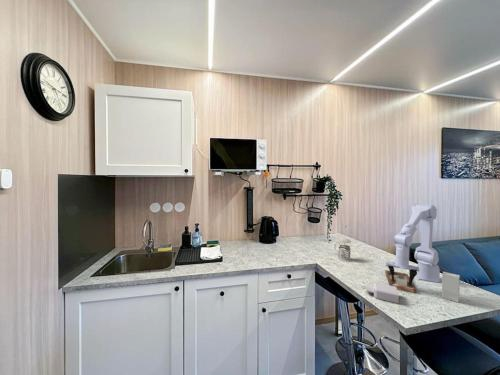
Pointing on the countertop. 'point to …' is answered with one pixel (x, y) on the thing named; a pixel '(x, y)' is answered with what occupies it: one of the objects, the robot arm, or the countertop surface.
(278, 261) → the countertop surface
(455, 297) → the skincare box
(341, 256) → the french press
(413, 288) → the socket holder
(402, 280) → the plug
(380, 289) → the charger
